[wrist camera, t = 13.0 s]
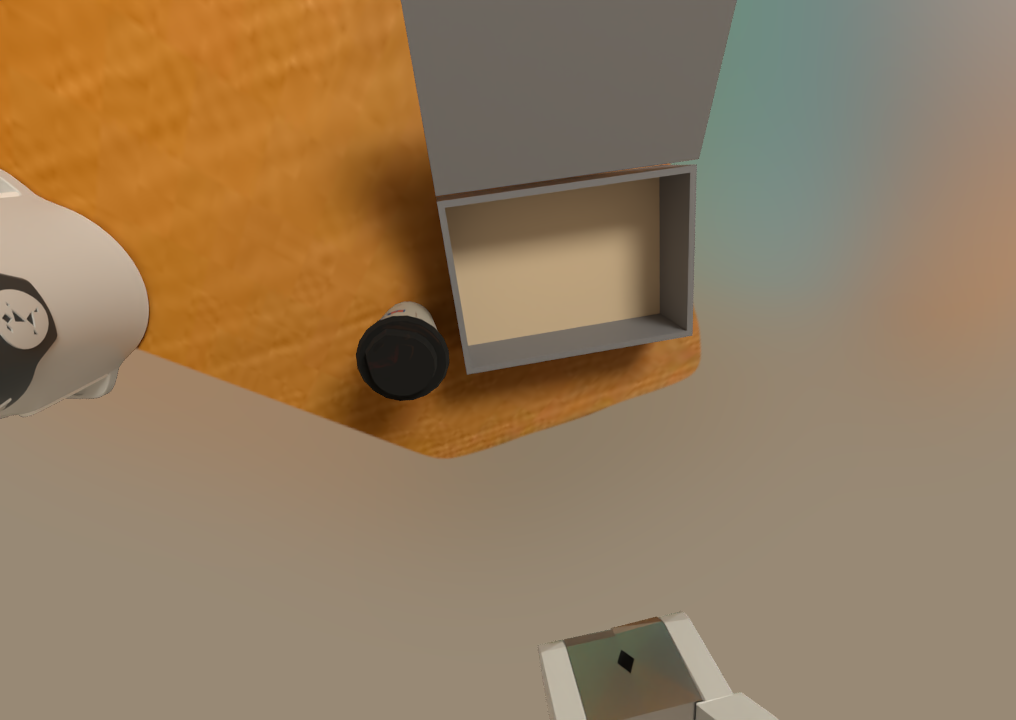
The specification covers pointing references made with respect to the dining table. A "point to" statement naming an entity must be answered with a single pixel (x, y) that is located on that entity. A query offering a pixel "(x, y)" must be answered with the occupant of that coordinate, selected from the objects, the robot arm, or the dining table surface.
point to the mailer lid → (562, 85)
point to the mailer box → (571, 265)
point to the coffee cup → (403, 353)
